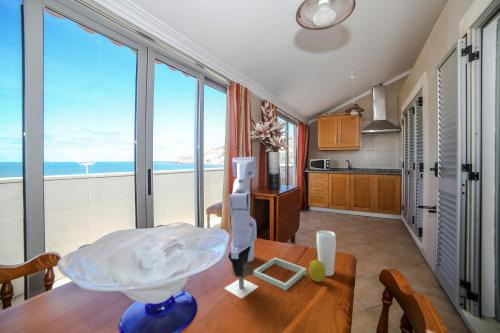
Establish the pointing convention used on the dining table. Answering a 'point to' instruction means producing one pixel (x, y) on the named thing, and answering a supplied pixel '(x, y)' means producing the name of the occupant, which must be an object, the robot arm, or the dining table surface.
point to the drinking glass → (326, 250)
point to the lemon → (317, 271)
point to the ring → (245, 270)
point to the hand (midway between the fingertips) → (241, 270)
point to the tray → (284, 264)
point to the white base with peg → (241, 287)
